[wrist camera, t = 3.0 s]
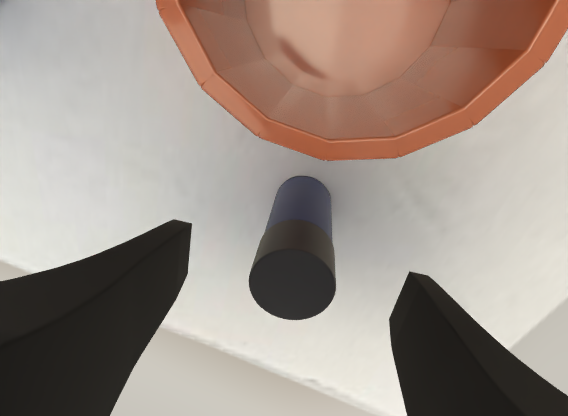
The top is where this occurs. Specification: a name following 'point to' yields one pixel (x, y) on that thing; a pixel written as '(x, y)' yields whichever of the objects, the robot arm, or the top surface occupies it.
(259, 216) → the top surface
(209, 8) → the pen pot
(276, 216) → the glue stick
